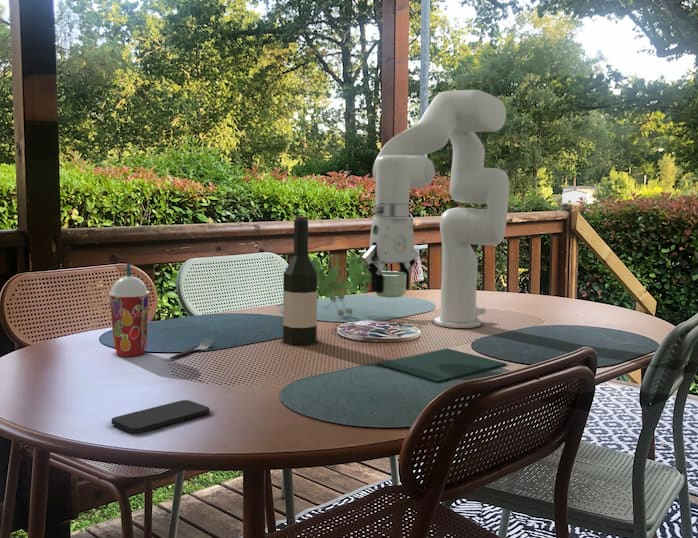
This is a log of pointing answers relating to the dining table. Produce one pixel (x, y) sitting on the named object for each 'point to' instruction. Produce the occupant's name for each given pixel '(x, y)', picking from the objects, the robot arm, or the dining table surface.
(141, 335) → the smoothie
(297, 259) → the wine bottle
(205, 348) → the fork
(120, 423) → the phone
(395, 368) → the placemat
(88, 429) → the dining table surface
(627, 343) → the dining table surface
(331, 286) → the plant cuttings
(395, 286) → the bowl
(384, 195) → the robot arm
